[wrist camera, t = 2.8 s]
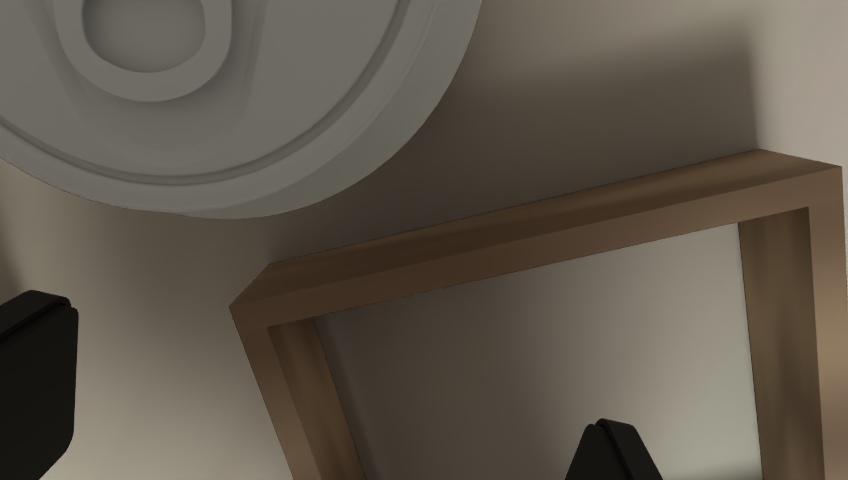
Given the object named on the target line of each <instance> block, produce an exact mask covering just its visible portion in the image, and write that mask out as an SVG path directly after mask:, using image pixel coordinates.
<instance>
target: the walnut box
mask: <svg viewBox="0 0 848 480" xmlns="http://www.w3.org/2000/svg"><path fill="white" fill-rule="evenodd" d="M736 222H738V224H739V234H740V245H741V255H742V265H743V275H744V286H745V296H746V306H747V316H748V327H749V337H750V347H751V357H752V368H753V378H754V388H755V398H756V409H757V419H758V429H759V440H760V450H761V460H762V470H763V480H848V299H847V276H846V252H845V229H844V205H843V182H842V166H837V165H832V164H828V163H823V162H818V161H814V160H809V159H804V158H800V157H795V156H790V155H785V154H781V153H776V152H771V151H767V150H762V149H757V150H753V151H748V152H744V153H740V154H736V155H731V156H727V157H723V158H719V159H714V160H710V161H706V162H702V163H697V164H693V165H689V166H685V167H680V168H676V169H672V170H668V171H663V172H659V173H655V174H651V175H646V176H642V177H638V178H634V179H629V180H625V181H621V182H617V183H612V184H608V185H604V186H600V187H595V188H591V189H587V190H583V191H578V192H574V193H570V194H566V195H561V196H557V197H553V198H549V199H544V200H540V201H536V202H532V203H528V204H523V205H519V206H515V207H511V208H506V209H502V210H498V211H494V212H489V213H485V214H481V215H477V216H472V217H468V218H464V219H460V220H455V221H451V222H447V223H443V224H438V225H434V226H430V227H426V228H421V229H417V230H413V231H409V232H404V233H400V234H396V235H392V236H387V237H383V238H379V239H375V240H370V241H366V242H362V243H358V244H353V245H349V246H345V247H341V248H336V249H332V250H328V251H324V252H319V253H315V254H311V255H307V256H302V257H298V258H294V259H290V260H285V261H281V262H277V263H273V264H269V265H268V266H267V267H266V268H265V269H264V270H263V271H262V272H261V274H260V275H259V276H258V277H257V278H256V279H255V280H254V281H253V282H252V283H251V284H250V285H249V286H248V287H247V288H246V289H245V290H244V291H243V292H242V293H241V294H240V295H239V296H238V298H237V299H236V300H235V301H234V302H233V303H232V304H231V305H230V306H229V309H230V312H231V314H232V317H233V320H234V322H235V325H236V328H237V330H238V333H239V336H240V338H241V341H242V343H243V346H244V349H245V351H246V354H247V357H248V359H249V362H250V365H251V367H252V370H253V373H254V375H255V378H256V380H257V383H258V386H259V388H260V391H261V394H262V396H263V399H264V402H265V404H266V407H267V410H268V412H269V415H270V417H271V420H272V423H273V425H274V428H275V431H276V433H277V436H278V439H279V441H280V444H281V447H282V449H283V452H284V454H285V457H286V460H287V462H288V465H289V468H290V470H291V473H292V476H293V478H294V480H366V477H365V474H364V471H363V468H362V465H361V462H360V459H359V456H358V454H357V451H356V448H355V445H354V442H353V439H352V436H351V433H350V430H349V427H348V424H347V421H346V418H345V415H344V412H343V409H342V406H341V403H340V400H339V397H338V394H337V391H336V388H335V385H334V382H333V379H332V376H331V373H330V370H329V367H328V364H327V361H326V358H325V355H324V352H323V349H322V346H321V343H320V340H319V337H318V334H317V331H316V328H315V325H314V322H313V319H312V317H315V316H319V315H324V314H328V313H333V312H337V311H342V310H346V309H351V308H355V307H360V306H364V305H368V304H373V303H377V302H382V301H386V300H391V299H395V298H400V297H404V296H409V295H413V294H418V293H422V292H427V291H431V290H436V289H440V288H445V287H449V286H454V285H458V284H463V283H467V282H472V281H476V280H481V279H485V278H490V277H494V276H499V275H503V274H508V273H512V272H516V271H521V270H525V269H530V268H534V267H539V266H543V265H548V264H552V263H557V262H561V261H566V260H570V259H575V258H579V257H584V256H588V255H593V254H597V253H602V252H606V251H611V250H615V249H620V248H624V247H629V246H633V245H638V244H642V243H647V242H651V241H656V240H660V239H664V238H669V237H673V236H678V235H682V234H687V233H691V232H696V231H700V230H705V229H709V228H714V227H718V226H723V225H727V224H732V223H736Z"/></svg>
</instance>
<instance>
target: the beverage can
mask: <svg viewBox="0 0 848 480" xmlns="http://www.w3.org/2000/svg"><path fill="white" fill-rule="evenodd" d="M481 3H482V0H0V158H2V159H3V160H5V161H6V162H8V163H9V164H11V165H13V166H15V167H17V168H18V169H20V170H22V171H24V172H25V173H27V174H29V175H31V176H33V177H35V178H37V179H39V180H41V181H43V182H45V183H47V184H49V185H52V186H54V187H56V188H58V189H61V190H63V191H66V192H68V193H71V194H73V195H76V196H79V197H82V198H85V199H88V200H91V201H95V202H99V203H103V204H107V205H111V206H115V207H120V208H125V209H131V210H140V211H151V212H164V213H173V214H178V215H183V216H190V217H199V218H211V219H244V218H255V217H265V216H272V215H276V214H281V213H285V212H289V211H292V210H296V209H300V208H303V207H307V206H309V205H312V204H315V203H318V202H320V201H322V200H324V199H326V198H329V197H331V196H333V195H335V194H337V193H339V192H341V191H342V190H344V189H346V188H348V187H350V186H352V185H354V184H355V183H357V182H358V181H360V180H361V179H363V178H364V177H366V176H367V175H369V174H370V173H372V172H373V171H375V170H376V169H377V168H378V167H380V166H381V165H382V164H383V163H385V162H386V161H387V160H388V159H390V158H391V157H392V156H393V155H394V154H395V153H396V152H397V151H398V150H399V149H400V148H401V147H403V146H404V145H405V144H406V143H407V142H408V141H409V140H410V138H411V137H412V136H413V135H414V134H415V133H416V132H417V130H418V129H419V128H420V127H421V126H422V125H423V124H424V122H425V121H426V120H427V118H428V117H429V115H430V114H431V113H432V111H433V110H434V109H435V107H436V106H437V104H438V103H439V101H440V100H441V98H442V96H443V95H444V93H445V92H446V90H447V88H448V87H449V85H450V83H451V82H452V80H453V78H454V76H455V73H456V71H457V69H458V67H459V65H460V63H461V61H462V59H463V57H464V54H465V52H466V49H467V47H468V44H469V42H470V39H471V37H472V34H473V31H474V28H475V24H476V21H477V18H478V14H479V11H480V8H481Z"/></svg>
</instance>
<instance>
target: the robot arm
mask: <svg viewBox="0 0 848 480" xmlns="http://www.w3.org/2000/svg"><path fill="white" fill-rule="evenodd" d="M78 319H79V316H78V311H77V309H75V308H73V307H71V303H70V301H69V299H67V298H66V297H62V296H58V295H53V294H49V293H44V292H40V291H36V290H29V291H26V292H24V293H22V294H21V295H19V296H17V297H15V298H13V299H11V300H10V301H8V302H6V303H4V304H2V305H1V306H0V480H39V479H40V478H41V477H42V476H43V475H44V474H45V473H46V472H47V471H48V470H49V469H50V468H51V467H52V466H53V465H54V464H55V463H56V461H57V460H58V459H59V458H60V457H61V456H62V455H63V454H64V453H65V452H66V450H67V448H68V447H69V445H70V442H71V440H72V437H73V432H74V410H75V387H76V365H77V342H78ZM565 480H663V479H662V477H661V475H660V473H659V471H658V469H657V467H656V466H655V464H654V462H653V460H652V458H651V456H650V454H649V453H648V451H647V449H646V447H645V445H644V443H643V441H642V440H641V438H640V436H639V434H638V432H637V430H636V429H635V428H634V426H632V425H630V424H625V423H621V422H616V421H612V420H608V419H603V418H602V419H599V420H598V421H597V422H596V424H595V425H593V424H589V425H588V426H587V427H586V429H585V430H584V433H583V435H582V438H581V440H580V443H579V445H578V448H577V450H576V453H575V455H574V458H573V460H572V463H571V465H570V468H569V470H568V473H567V475H566V478H565Z"/></svg>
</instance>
